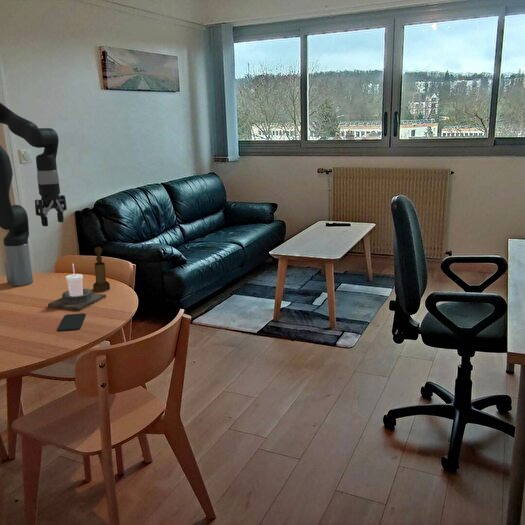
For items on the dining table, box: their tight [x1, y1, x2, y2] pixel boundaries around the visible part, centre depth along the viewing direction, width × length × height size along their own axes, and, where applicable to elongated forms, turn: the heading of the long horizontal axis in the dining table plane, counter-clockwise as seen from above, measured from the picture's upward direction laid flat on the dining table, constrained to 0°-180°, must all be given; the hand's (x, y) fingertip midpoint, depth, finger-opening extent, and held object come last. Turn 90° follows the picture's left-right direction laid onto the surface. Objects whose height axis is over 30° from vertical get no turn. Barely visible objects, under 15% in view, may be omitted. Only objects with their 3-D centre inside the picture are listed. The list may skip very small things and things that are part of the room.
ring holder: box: [47, 288, 107, 312], centre depth 199 cm, size 14×16×4 cm
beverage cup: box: [65, 263, 84, 296], centre depth 198 cm, size 6×6×14 cm
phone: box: [57, 312, 87, 332], centre depth 180 cm, size 7×1×15 cm
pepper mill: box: [92, 246, 111, 293], centre depth 212 cm, size 7×6×18 cm
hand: (53, 224), depth 203 cm, fingers open, 8 cm apart
